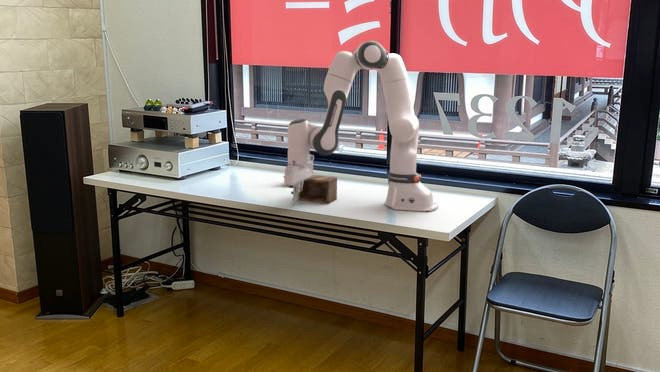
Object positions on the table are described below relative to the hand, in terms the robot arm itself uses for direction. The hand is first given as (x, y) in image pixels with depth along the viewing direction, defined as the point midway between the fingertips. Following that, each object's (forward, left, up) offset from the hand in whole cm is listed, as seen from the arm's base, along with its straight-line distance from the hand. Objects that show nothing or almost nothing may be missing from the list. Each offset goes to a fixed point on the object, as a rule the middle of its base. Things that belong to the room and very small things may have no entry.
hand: (299, 191), depth 264 cm
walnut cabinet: (-2, -15, -7) cm, 16 cm away
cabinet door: (+3, -4, -6) cm, 7 cm away
